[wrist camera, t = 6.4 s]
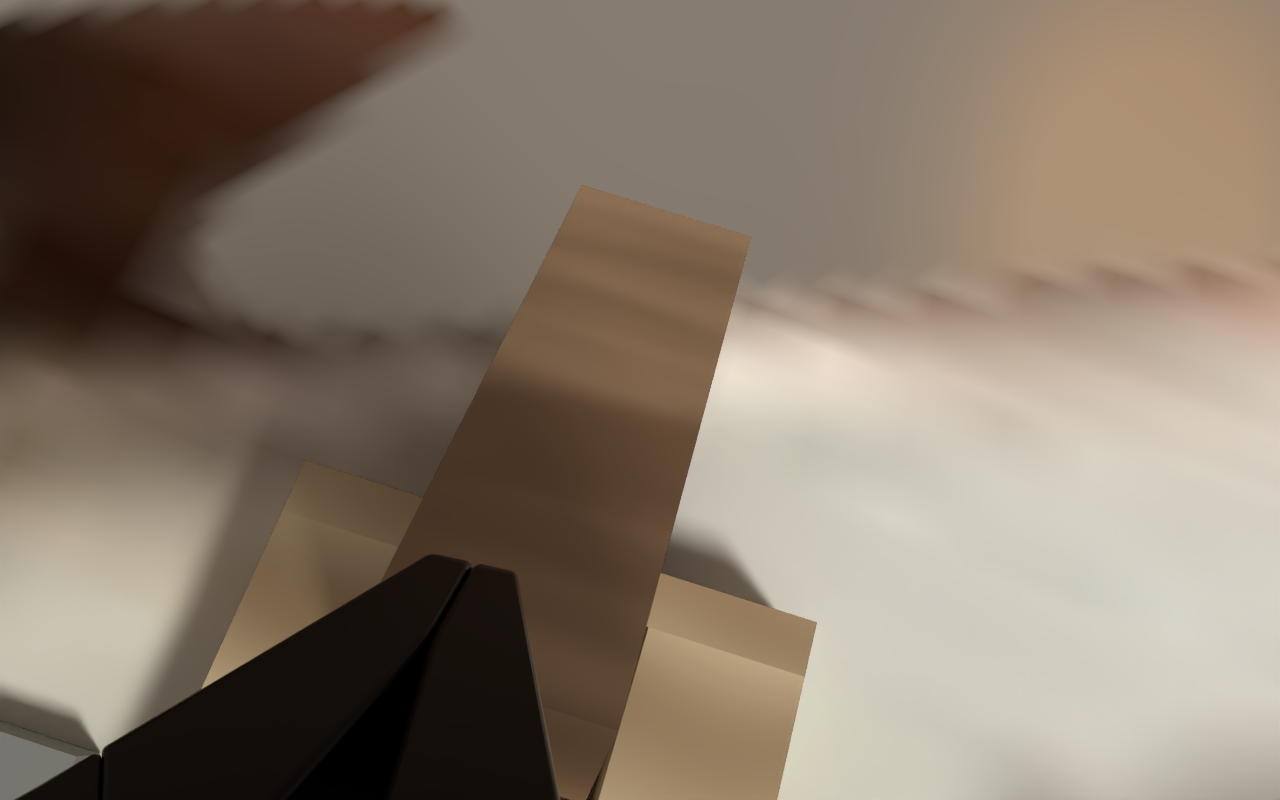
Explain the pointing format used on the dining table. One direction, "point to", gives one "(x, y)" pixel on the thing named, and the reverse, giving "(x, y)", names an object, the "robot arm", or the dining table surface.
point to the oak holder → (664, 674)
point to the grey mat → (32, 759)
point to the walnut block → (588, 451)
